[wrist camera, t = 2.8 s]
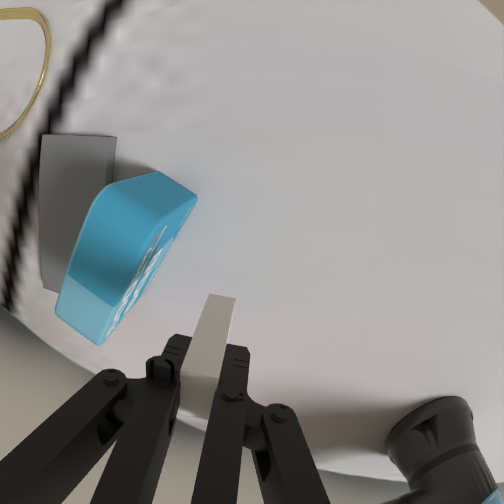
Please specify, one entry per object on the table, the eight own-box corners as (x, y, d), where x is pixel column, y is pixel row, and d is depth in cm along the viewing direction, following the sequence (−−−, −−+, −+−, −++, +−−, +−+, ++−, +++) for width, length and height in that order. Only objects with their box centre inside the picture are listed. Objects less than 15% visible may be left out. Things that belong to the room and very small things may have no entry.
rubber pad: (109, 300, 33) (103, 306, 31) (50, 283, 33) (43, 288, 31) (117, 137, 27) (109, 137, 26) (50, 134, 27) (42, 134, 26)
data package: (146, 289, 32) (95, 354, 21) (113, 266, 31) (50, 321, 20) (201, 193, 28) (157, 225, 17) (162, 168, 28) (97, 185, 17)
